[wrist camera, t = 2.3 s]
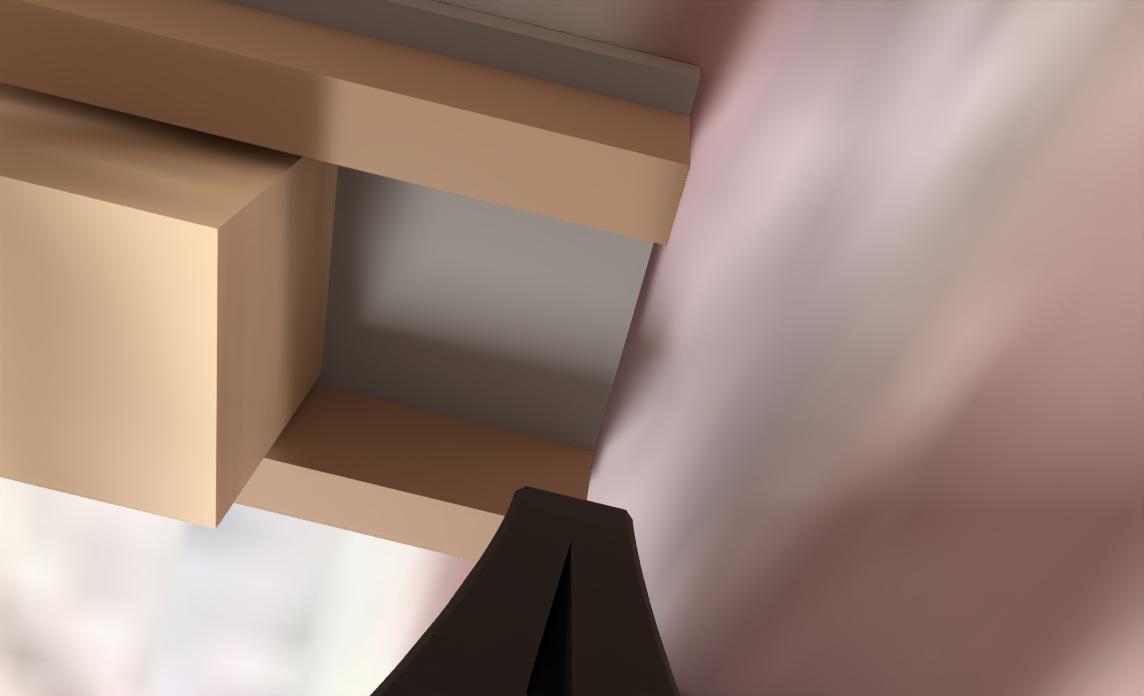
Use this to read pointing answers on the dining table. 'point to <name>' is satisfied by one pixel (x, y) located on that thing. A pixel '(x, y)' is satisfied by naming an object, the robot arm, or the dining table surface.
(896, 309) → the dining table surface
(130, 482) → the birch block
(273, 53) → the chute
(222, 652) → the dining table surface
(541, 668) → the robot arm
